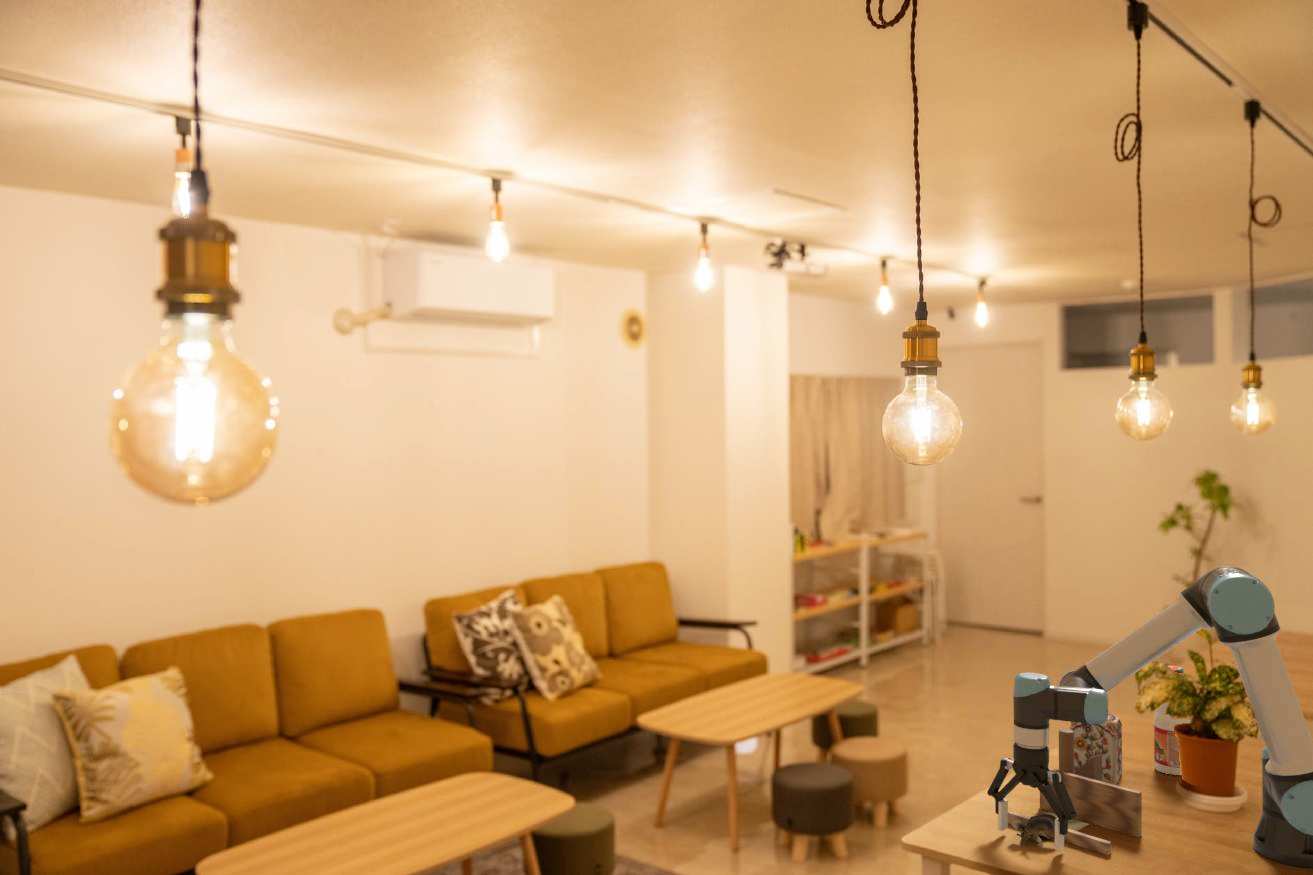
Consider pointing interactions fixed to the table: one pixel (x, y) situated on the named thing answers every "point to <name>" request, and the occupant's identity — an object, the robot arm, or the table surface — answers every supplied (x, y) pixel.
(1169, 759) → the fruit juice
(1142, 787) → the table surface
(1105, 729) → the decorative jar
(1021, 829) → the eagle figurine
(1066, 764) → the wooden block
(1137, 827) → the wall board
